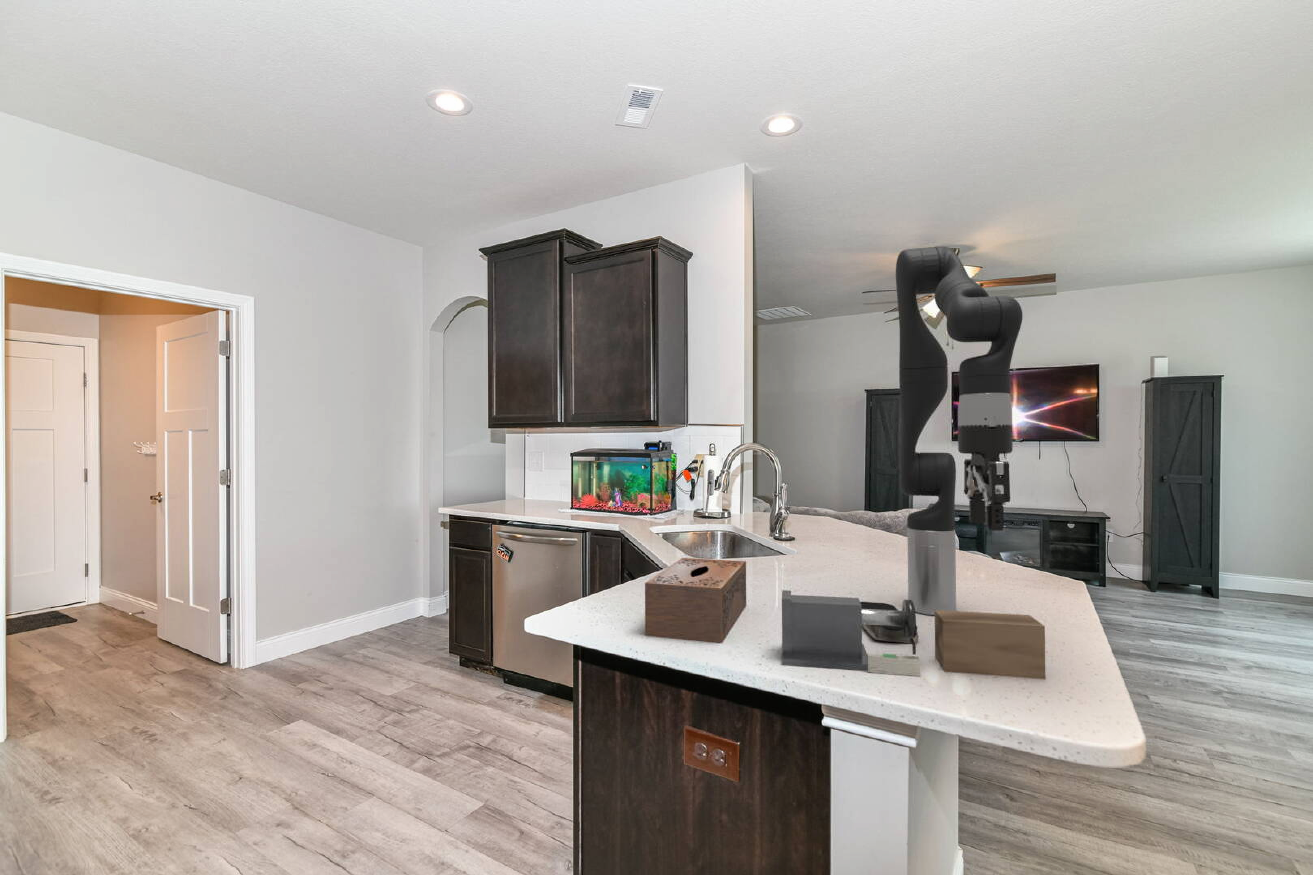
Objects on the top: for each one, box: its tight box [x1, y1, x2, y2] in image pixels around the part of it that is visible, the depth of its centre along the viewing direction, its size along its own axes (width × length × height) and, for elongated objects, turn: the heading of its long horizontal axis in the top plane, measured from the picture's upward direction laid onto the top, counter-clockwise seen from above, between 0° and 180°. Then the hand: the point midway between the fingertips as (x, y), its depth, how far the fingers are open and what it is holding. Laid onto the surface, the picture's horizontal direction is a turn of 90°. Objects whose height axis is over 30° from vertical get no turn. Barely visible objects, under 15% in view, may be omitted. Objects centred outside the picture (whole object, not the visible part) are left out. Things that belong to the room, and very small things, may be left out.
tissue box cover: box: [644, 557, 747, 644], centre depth 121 cm, size 26×14×10 cm, turn 162°
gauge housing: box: [781, 589, 921, 677], centre depth 98 cm, size 11×20×10 cm, turn 77°
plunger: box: [862, 599, 917, 656], centre depth 97 cm, size 8×13×7 cm, turn 77°
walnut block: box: [934, 610, 1046, 680], centre depth 94 cm, size 6×14×8 cm, turn 77°
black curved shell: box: [860, 601, 919, 644], centre depth 113 cm, size 16×8×4 cm, turn 176°
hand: (985, 526), depth 94 cm, fingers open, 8 cm apart
